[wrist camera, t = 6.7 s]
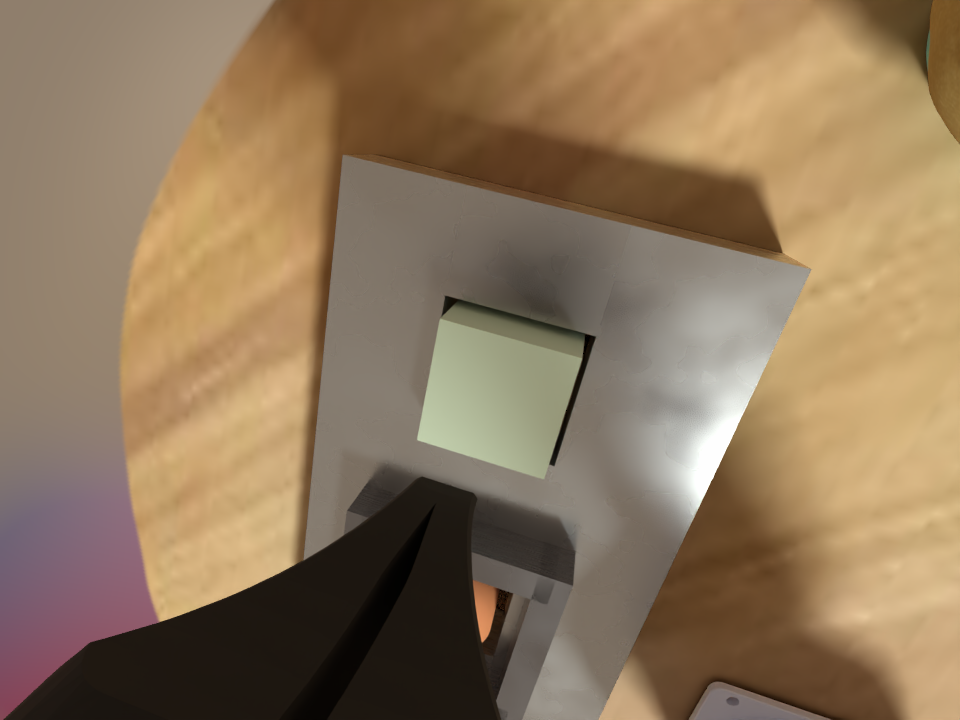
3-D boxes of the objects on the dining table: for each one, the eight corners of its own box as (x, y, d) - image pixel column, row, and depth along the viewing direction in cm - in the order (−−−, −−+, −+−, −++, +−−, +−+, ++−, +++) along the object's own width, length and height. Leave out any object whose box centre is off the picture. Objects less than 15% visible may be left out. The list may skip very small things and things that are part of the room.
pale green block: (586, 322, 19) (582, 358, 15) (554, 427, 20) (543, 479, 17) (468, 290, 19) (440, 318, 16) (446, 395, 21) (417, 439, 18)
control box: (783, 253, 17) (835, 282, 13) (586, 695, 26) (583, 790, 22) (375, 154, 19) (314, 154, 15) (321, 600, 27) (275, 673, 23)
